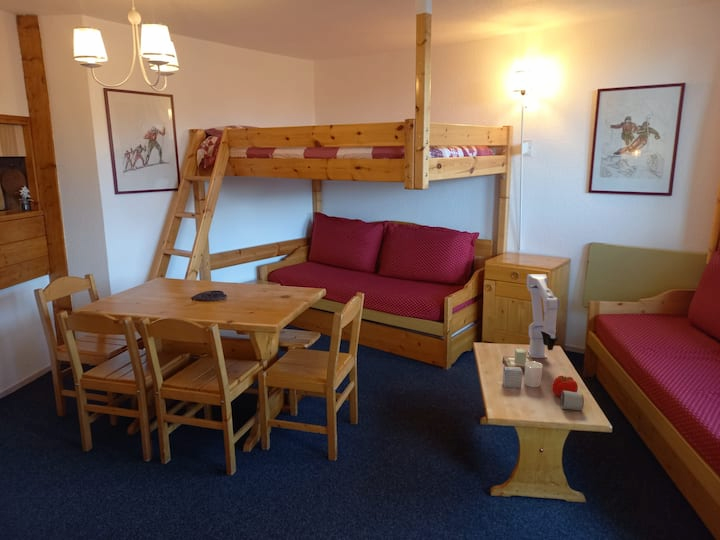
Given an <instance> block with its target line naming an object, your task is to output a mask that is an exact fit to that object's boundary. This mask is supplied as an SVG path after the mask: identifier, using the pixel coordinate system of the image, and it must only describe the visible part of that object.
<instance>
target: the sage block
mask: <svg viewBox="0 0 720 540" xmlns="http://www.w3.org/2000/svg"><path fill="white" fill-rule="evenodd" d="M514 357H515V362H516V363H521V364H525V363H526V357H527V351H526V350H525V348H515V350H514Z"/></svg>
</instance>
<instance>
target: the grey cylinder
mask: <svg viewBox="0 0 720 540" xmlns="http://www.w3.org/2000/svg"><path fill="white" fill-rule="evenodd" d="M584 404H585V397H584V395H583V394H582V393H580V392H570V391H562V395H561V397H560V406H561V409H563V410H573V411H582V410H583V409H584V406H585V405H584Z"/></svg>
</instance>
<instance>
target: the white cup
mask: <svg viewBox="0 0 720 540" xmlns="http://www.w3.org/2000/svg"><path fill="white" fill-rule="evenodd" d="M543 367H544V365H543V364H542V363H541V362H538V361H528V362H526V363H525V372H524V385H525V386H527V387H530V388H539V387H540V386H541V381H542V374H543Z"/></svg>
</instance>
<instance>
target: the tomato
mask: <svg viewBox="0 0 720 540" xmlns="http://www.w3.org/2000/svg"><path fill="white" fill-rule="evenodd" d="M578 386H579V385H578V383H577V381H576V380H574V378H573V377H572V376H566V375H558V376H557V377H556V378H555V379H553V382H552V387H551V388H552V389H551V390H552V392H553V394H554V395H556V396H557V397H560V398H561V395H562V391H570V392H576V393H578V388H579V387H578Z"/></svg>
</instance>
